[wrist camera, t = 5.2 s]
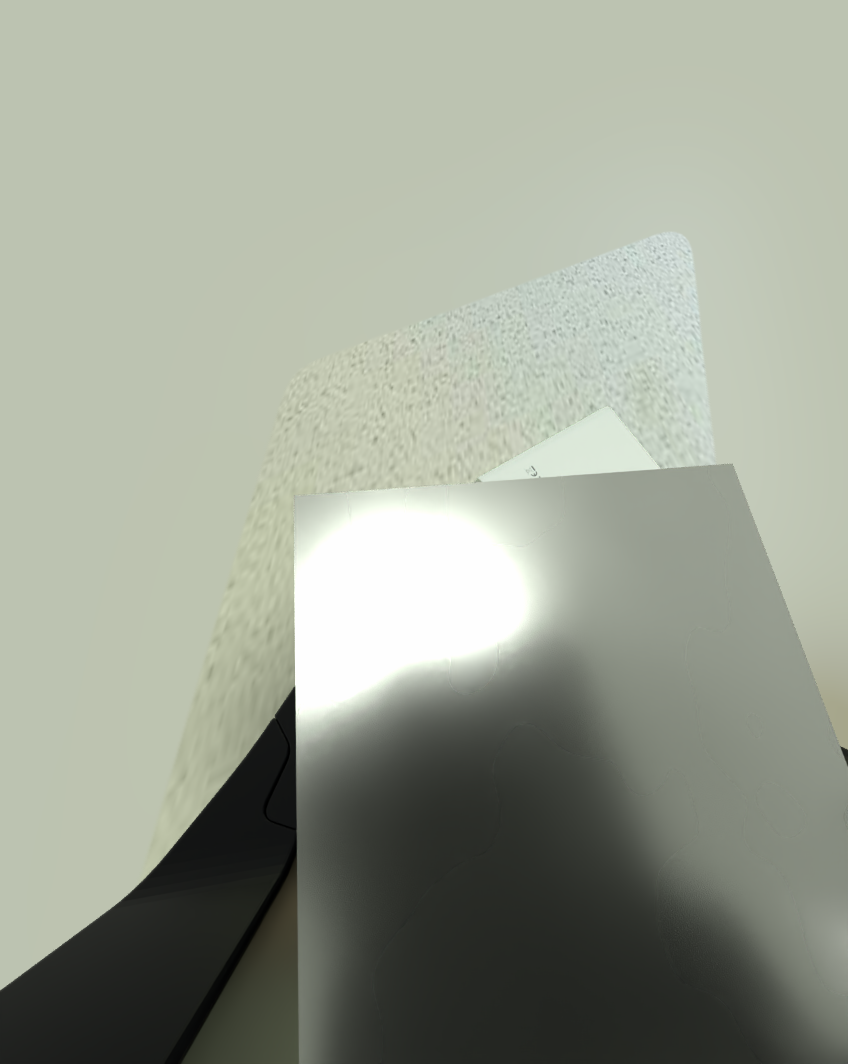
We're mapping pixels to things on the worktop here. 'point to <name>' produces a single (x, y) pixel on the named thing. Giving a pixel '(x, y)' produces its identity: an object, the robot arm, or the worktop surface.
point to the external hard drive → (579, 452)
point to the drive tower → (561, 781)
